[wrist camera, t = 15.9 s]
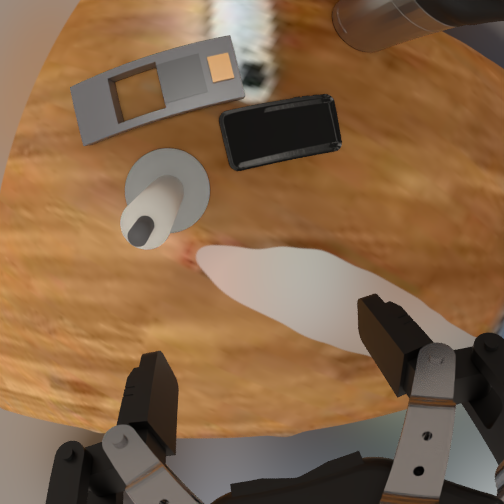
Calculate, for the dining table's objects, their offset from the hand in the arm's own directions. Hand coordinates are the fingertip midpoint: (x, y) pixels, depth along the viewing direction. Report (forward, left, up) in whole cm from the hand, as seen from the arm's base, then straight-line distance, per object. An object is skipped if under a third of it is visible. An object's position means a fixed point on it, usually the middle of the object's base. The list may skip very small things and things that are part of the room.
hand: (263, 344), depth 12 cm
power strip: (+5, -15, -30) cm, 34 cm away
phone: (-9, -6, -31) cm, 32 cm away
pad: (+7, -2, -30) cm, 31 cm away
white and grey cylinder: (+7, -2, -29) cm, 30 cm away
